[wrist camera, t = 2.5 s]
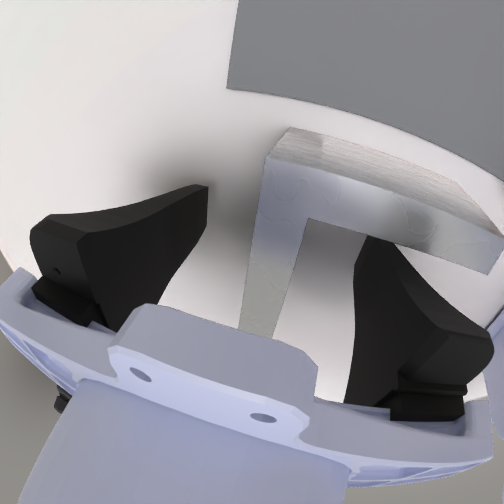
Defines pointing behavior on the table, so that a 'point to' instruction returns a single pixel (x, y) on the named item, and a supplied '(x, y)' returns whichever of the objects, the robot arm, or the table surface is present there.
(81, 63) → the table surface
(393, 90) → the arena mat
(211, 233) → the table surface
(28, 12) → the table surface
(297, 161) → the aluminium angle bracket
